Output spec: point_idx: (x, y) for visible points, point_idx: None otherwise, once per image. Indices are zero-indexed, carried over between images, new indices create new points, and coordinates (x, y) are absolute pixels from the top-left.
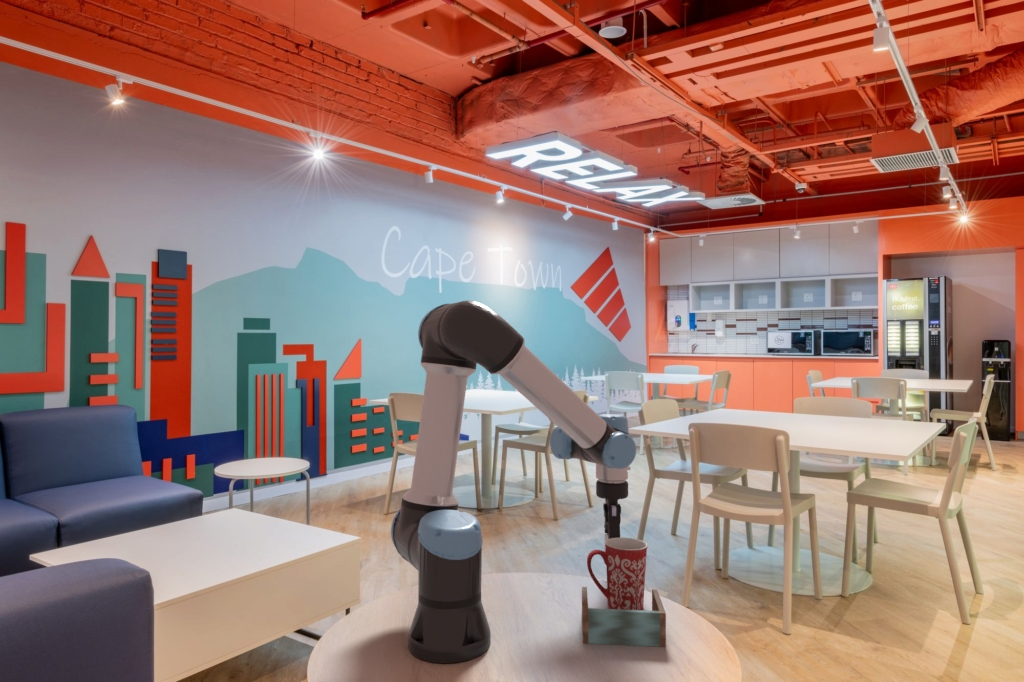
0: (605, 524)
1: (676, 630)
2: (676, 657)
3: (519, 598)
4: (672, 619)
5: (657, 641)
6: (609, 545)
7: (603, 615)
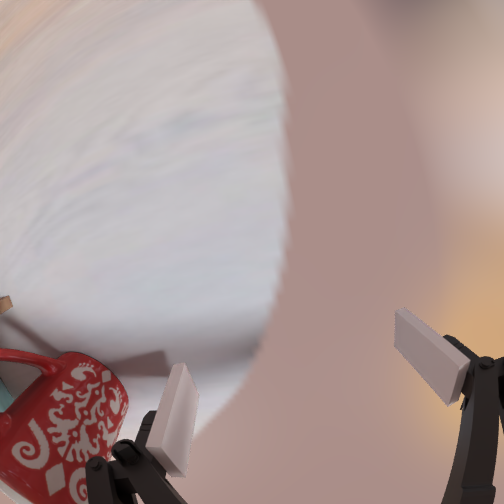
0: (489, 403)
1: None
2: None
3: (41, 103)
4: None
5: None
6: (7, 467)
7: None
